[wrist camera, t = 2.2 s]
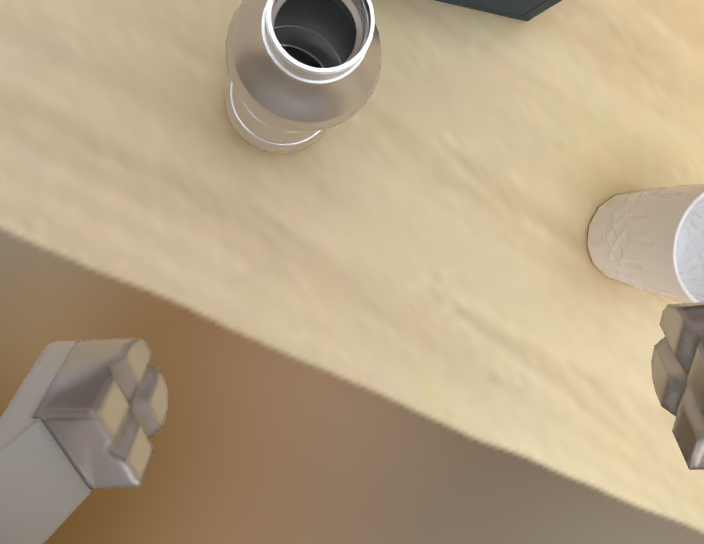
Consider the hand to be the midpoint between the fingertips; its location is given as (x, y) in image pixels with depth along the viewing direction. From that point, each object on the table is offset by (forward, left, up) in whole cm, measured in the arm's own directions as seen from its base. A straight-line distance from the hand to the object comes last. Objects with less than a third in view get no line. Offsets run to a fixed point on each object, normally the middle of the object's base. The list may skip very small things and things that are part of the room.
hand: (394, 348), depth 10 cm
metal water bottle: (-1, +8, -32) cm, 33 cm away
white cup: (+26, +3, -32) cm, 42 cm away
